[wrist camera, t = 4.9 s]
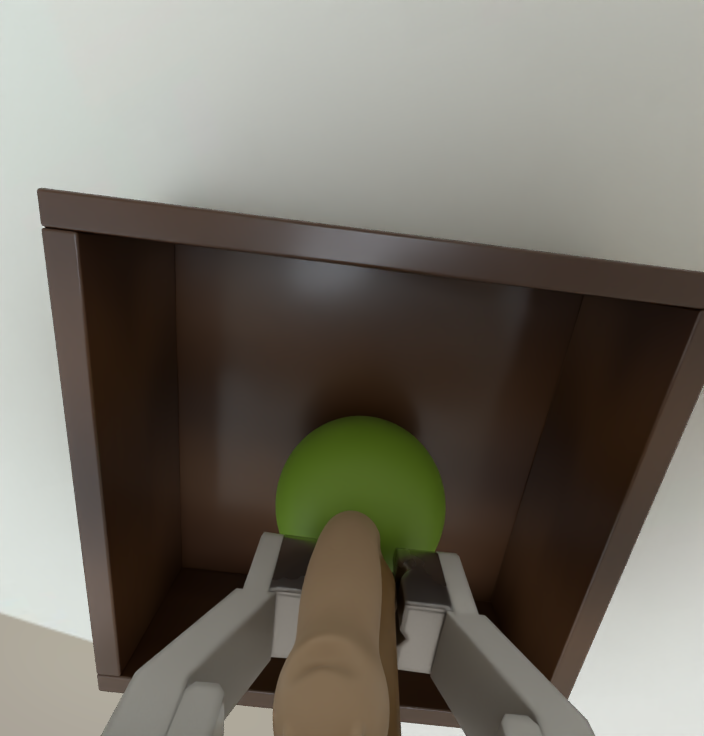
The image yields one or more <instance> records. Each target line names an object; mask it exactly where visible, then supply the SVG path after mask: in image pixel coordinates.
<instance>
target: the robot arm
mask: <svg viewBox="0 0 704 736" xmlns="http://www.w3.org/2000/svg"><path fill="white" fill-rule="evenodd" d="M317 541H318V539H316V538H309V537H302V536H294V535H287V534H285V535H283V534H276V533H269V532H264V533H263V535H262V536H261V538H260V541H259V544H258V547H257V550H256V553H255V556H254V558H253V561H252V564H251V567H250V570H249V573H248V576H247V578H246V581H245V584H244V587H243V589H239V588H236V589H235V590H234V591H232V592H231V593H230V594H229V595H228V596H226V597H225V598H224V599H223V600H222V601H220V602H219V603H218V604H217V605H216V606H214V607H213V608H212V609H211V610H210V611H208V612H207V613H206V614H205V615H203V616H202V617H201V618H200V619H199V620H197V621H196V622H195V623H194V624H193V625H191V626H190V627H189V628H188V629H187V630H185V631H184V632H183V633H182V634H181V635H179V636H178V637H177V638H176V639H175V640H173V641H172V642H171V643H170V644H168V645H167V646H166V647H165V648H164V649H162V650H161V651H160V652H159V653H158V654H156V655H155V656H154V657H153V658H152V659H150V660H149V661H148V662H147V663H146V664H144V665H143V666H142V667H141V668H139V669H138V670H137V671H136V672H135V674H134V675H133V677H132V679H131V681H130V683H129V685H128V687H127V688H126V690H125V692H124V694H123V696H122V698H121V700H120V701H119V703H118V705H117V707H116V709H115V711H114V712H113V714H112V716H111V718H110V720H109V722H108V724H107V726H106V727H105V729H104V731H103V733H102V735H101V736H223V733H224V720H225V718H226V717H227V716H228V715H229V713H230V712H231V711H232V709H233V708H234V707H235V706H236V704H237V703H238V702H239V700H240V699H241V698H242V696H243V695H244V694H245V693H246V691H247V690H248V689H249V687H250V686H251V685H252V683H253V682H254V681H255V680H256V678H257V677H258V676H259V674H260V673H261V672H262V670H263V669H264V668H265V667H266V665H267V664H268V663H269V661H270V660H271V657H278V658H287V657H288V655H289V654H290V652H291V650H292V648H293V646H294V644H295V640H296V634H297V624H298V614H299V604H300V598H301V592H302V587H303V583H304V578H305V575H306V571H307V568H308V564H309V561H310V558H311V556H312V553H313V551H314V548H315V546H316V543H317ZM392 561H393V572H392V574H393V576H394V579H395V584H396V599H395V623H396V645H397V665H398V670H406V671H413V672H420V673H427V674H430V677H431V679H432V680H433V682H434V684H435V685H436V687H437V688H438V690H439V692H440V693H441V695H442V697H443V698H444V700H445V702H446V703H447V705H448V707H449V708H450V710H451V712H452V713H453V715H454V717H455V718H456V720H457V721H458V723H459V725H460V726H461V728H462V730H463V731H464V733H465V735H466V736H595V735H594V732H593V730H592V728H591V726H590V724H589V722H588V720H587V719H586V718H585V717H584V716H583V715H582V714H581V713H580V712H579V711H578V710H577V709H576V708H575V707H574V706H573V705H572V704H571V703H570V702H569V701H568V700H567V699H566V698H565V697H564V696H563V695H562V694H561V693H560V692H559V691H558V689H557V688H556V687H555V686H554V685H553V684H552V683H551V682H550V681H549V680H548V679H547V678H546V677H545V676H544V675H543V674H542V673H541V672H540V671H539V670H538V669H537V668H536V667H535V666H534V665H533V664H532V663H531V662H530V661H529V660H528V659H527V658H526V657H525V656H524V655H523V654H522V653H521V652H520V651H519V650H518V648H517V647H516V646H515V645H514V644H513V643H512V642H511V641H510V640H509V639H508V638H507V637H506V636H505V635H504V634H503V633H502V632H501V631H500V630H499V629H498V628H497V627H496V626H495V625H494V624H493V623H492V622H491V621H490V620H489V619H488V618H487V617H486V616H485V615H479V614H478V611H477V608H476V605H475V602H474V599H473V596H472V593H471V590H470V587H469V584H468V581H467V578H466V575H465V572H464V569H463V566H462V563H461V560H460V557H459V556H458V555H457V554H456V553H448V552H437V551H436V552H434V551H425V550H415V549H406V548H396V549H395V551H394V555H393V560H392Z"/></svg>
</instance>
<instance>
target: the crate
mask: <svg viewBox="0 0 704 736" xmlns="http://www.w3.org/2000/svg"><path fill="white" fill-rule="evenodd" d="M37 195H38V203H39V211H40V219H41V224H42V226H44V227H45V228H42V237H43V245H44V253H45V261H46V269H47V277H48V285H49V293H50V301H51V309H52V317H53V325H54V333H55V341H56V349H57V357H58V365H59V373H60V381H61V389H62V397H63V405H64V413H65V421H66V429H67V437H68V445H69V453H70V461H71V469H72V477H73V485H74V493H75V501H76V509H77V517H78V525H79V533H80V541H81V549H82V557H83V565H84V573H85V581H86V589H87V597H88V605H89V613H90V621H91V629H92V637H93V645H94V653H95V662H96V669H97V673H98V675H97V678H98V686H99V690H100V691H107V692H117V693H124V692H125V690H126V688H127V687H128V685H129V683H130V681H131V679H132V677H133V675H134V674H135V672H136V671H137V670H138V669H139V668H141V667H142V666H143V665H144V664H146V663H147V662H148V661H149V660H150V659H152V658H153V657H154V656H155V655H156V654H158V653H159V652H160V651H161V650H162V649H164V648H165V647H166V646H167V645H168V644H170V643H171V642H172V641H173V640H175V639H176V638H177V637H178V636H179V635H181V634H182V633H183V632H184V631H185V630H187V629H188V628H189V627H190V626H191V625H193V624H194V623H195V622H196V621H197V620H199V619H200V618H201V617H202V616H203V615H205V614H206V613H207V612H208V611H210V610H211V609H212V608H213V607H214V606H216V605H217V604H218V603H219V602H220V601H222V600H223V599H224V598H225V597H226V596H228V595H229V594H230V593H231V592H232V591H234V590H235V589H236V588H239V589H243V587H244V584H245V581H246V578H247V576H248V573H249V570H250V567H251V564H252V561H253V558H254V556H255V553H256V550H257V547H258V544H259V541H260V538H261V536H262V535H263V533H264V532H269V533H276V534H280V533H279V530H278V525H277V520H276V507H275V503H276V492H277V486H278V482H279V478H280V475H281V472H282V470H283V467H284V465H285V463H286V461H287V459H288V458H289V456H290V454H291V453H292V451H293V450H294V449H295V447H296V446H297V445H298V444H299V443H300V442H301V441H302V440H303V439H304V438H305V437H306V436H307V435H308V434H309V433H311V432H312V431H314V430H315V429H317V428H318V427H320V426H322V425H324V424H326V423H328V422H330V421H333V420H336V419H339V418H344V417H349V416H370V417H376V418H380V419H384V420H387V421H390V422H392V423H394V424H396V425H398V426H400V427H402V428H403V429H405V430H406V431H408V432H409V433H411V434H412V435H413V436H414V437H415V438H416V439H417V440H418V441H419V442H420V443H421V444H422V445H423V446H424V447H425V448H426V450H427V451H428V452H429V454H430V455H431V457H432V459H433V460H434V462H435V464H436V466H437V468H438V471H439V473H440V476H441V479H442V483H443V487H444V493H445V503H446V511H445V521H444V527H443V531H442V535H441V538H440V541H439V543H438V546H437V548H436V550H435V552H436V551H437V552H448V553H456V554H457V555H458V556H459V557H460V560H461V563H462V566H463V569H464V572H465V575H466V578H467V581H468V584H469V587H470V590H471V593H472V596H473V599H474V602H475V605H476V608H477V611H478V614H479V615H485V616H486V617H487V618H488V619H489V620H490V621H491V622H492V623H493V624H494V625H495V626H496V627H497V628H498V629H499V630H500V631H501V632H502V633H503V634H504V635H505V636H506V637H507V638H508V639H509V640H510V641H511V642H512V643H513V644H514V645H515V646H516V647H517V648H518V650H519V651H520V652H521V653H522V654H523V655H524V656H525V657H526V658H527V659H528V660H529V661H530V662H531V663H532V664H533V665H534V666H535V667H536V668H537V669H538V670H539V671H540V672H541V673H542V674H543V675H544V676H545V677H546V678H547V679H548V680H549V681H550V682H551V683H552V684H553V685H554V686H555V687H556V688H557V689H558V691H559V692H560V693H561V694H562V695H563V696H564V697H565V698H566V699H567V700H568V698H569V695H570V693H571V691H572V688H573V686H574V684H575V681H576V679H577V677H578V674H579V672H580V670H581V668H582V665H583V663H584V661H585V658H586V656H587V654H588V651H589V649H590V647H591V644H592V642H593V640H594V638H595V635H596V633H597V631H598V628H599V626H600V624H601V621H602V619H603V617H604V614H605V612H606V610H607V608H608V605H609V603H610V601H611V598H612V596H613V594H614V591H615V589H616V587H617V584H618V582H619V580H620V577H621V575H622V573H623V571H624V568H625V566H626V564H627V561H628V559H629V557H630V554H631V552H632V550H633V547H634V545H635V543H636V541H637V538H638V536H639V534H640V531H641V529H642V527H643V524H644V522H645V520H646V517H647V515H648V513H649V511H650V508H651V506H652V504H653V501H654V499H655V497H656V494H657V492H658V490H659V487H660V485H661V483H662V481H663V478H664V476H665V474H666V471H667V469H668V467H669V464H670V462H671V460H672V457H673V455H674V453H675V450H676V448H677V446H678V444H679V441H680V439H681V437H682V434H683V432H684V430H685V427H686V425H687V423H688V420H689V418H690V416H691V414H692V411H693V409H694V407H695V404H696V402H697V400H698V397H699V395H700V393H701V390H702V388H703V386H704V272H700V271H692V270H684V269H676V268H669V267H661V266H653V265H645V264H637V263H629V262H621V261H613V260H606V259H598V258H590V257H582V256H574V255H566V254H558V253H551V252H543V251H535V250H527V249H519V248H511V247H503V246H495V245H488V244H480V243H472V242H464V241H456V240H448V239H440V238H433V237H425V236H417V235H409V234H401V233H393V232H385V231H377V230H370V229H362V228H354V227H346V226H338V225H330V224H322V223H315V222H307V221H299V220H291V219H283V218H275V217H267V216H259V215H252V214H244V213H236V212H228V211H220V210H212V209H204V208H197V207H189V206H181V205H173V204H165V203H157V202H149V201H141V200H134V199H126V198H118V197H110V196H102V195H94V194H86V193H79V192H71V191H63V190H55V189H47V188H39V189H38V190H37ZM286 659H287V658H278V657H271V660H270V661H269V663H268V664H267V665H266V667H265V668H264V669H263V670H262V672H261V673H260V674H259V676H258V677H257V678H256V680H255V681H254V682H253V683H252V685H251V686H250V687H249V689H248V690H247V691H246V693H245V694H244V695H243V696H242V698H241V699H240V700H239V702H238V703H237V704H236V705H243V706H253V707H262V708H272V709H273V703H274V696H275V690H276V686H277V682H278V679H279V676H280V673H281V670H282V668H283V665H284V663H285V661H286ZM398 684H399V703H400V722H407V723H417V724H426V725H436V726H446V727H456V728H461V726H460V725H459V723H458V721H457V720H456V718H455V717H454V715H453V713H452V712H451V710H450V708H449V707H448V705H447V703H446V702H445V700H444V698H443V697H442V695H441V693H440V692H439V690H438V688H437V687H436V685H435V684H434V682H433V680H432V679H431V677H430V674H427V673H420V672H413V671H406V670H398Z"/></svg>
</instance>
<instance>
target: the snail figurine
mask: <svg viewBox="0 0 704 736" xmlns="http://www.w3.org/2000/svg"><path fill="white" fill-rule="evenodd" d="M275 507H276V520H277V525H278V530H279V533H280V534H283V535H285V534H287V535H294V536H302V537H309V538H316V539H318V541H317V543H316V546H315V548H314V551H313V553H312V556H311V558H310V561H309V564H308V568H307V571H306V575H305V578H304V583H303V587H302V592H301V598H300V604H299V614H298V624H297V634H296V640H295V644H294V646H293V648H292V650H291V652H290V654H289V655H288V657H287V659H286V661H285V663H284V665H283V668H282V670H281V673H280V676H279V679H278V682H277V686H276V690H275V696H274V703H273V731H274V736H401V722H400V703H399V684H398V665H397V645H396V623H395V599H396V584H395V579H394V576H393V574H392V572H393V561H392V560H393V555H394V551H395V549H396V548H406V549H415V550H425V551H434V552H435V550H436V548H437V546H438V543H439V541H440V538H441V535H442V531H443V527H444V521H445V511H446V503H445V493H444V487H443V483H442V479H441V476H440V473H439V471H438V468H437V466H436V464H435V462H434V460H433V459H432V457H431V455H430V454H429V452H428V451H427V450H426V448H425V447H424V446H423V445H422V444H421V443H420V442H419V441H418V440H417V439H416V438H415V437H414V436H413V435H412V434H411V433H409V432H408V431H406V430H405V429H403V428H402V427H400V426H398V425H396V424H394V423H392V422H390V421H387V420H384V419H380V418H376V417H370V416H349V417H344V418H339V419H336V420H333V421H330V422H328V423H326V424H324V425H322V426H320V427H318V428H317V429H315V430H314V431H312V432H311V433H309V434H308V435H307V436H306V437H305V438H304V439H303V440H302V441H301V442H300V443H299V444H298V445H297V446H296V447H295V449H294V450H293V451H292V453H291V454H290V456H289V458H288V459H287V461H286V463H285V465H284V467H283V470H282V472H281V475H280V478H279V482H278V486H277V492H276V503H275Z"/></svg>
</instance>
